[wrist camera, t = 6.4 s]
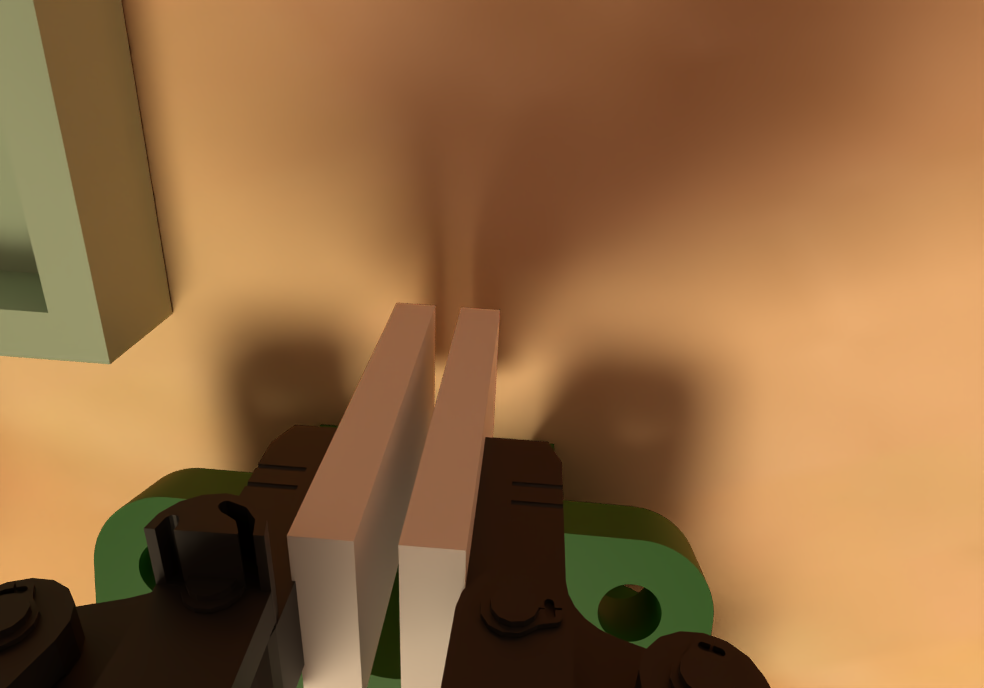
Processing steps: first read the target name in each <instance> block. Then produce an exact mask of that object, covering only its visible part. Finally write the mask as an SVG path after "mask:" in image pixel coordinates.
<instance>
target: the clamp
mask: <svg viewBox="0 0 984 688" xmlns="http://www.w3.org/2000/svg"><path fill="white" fill-rule="evenodd" d="M319 427H331V428H338V426H336V425H324V424H321V425H320V426H319ZM550 445H551V447H552V448H553V450H554V444H550ZM554 451H555V450H554ZM252 474H253V473H250V472H239V471H227V470H216V469H205V468H189V469H183V470H179V471H175V472H173V473H170V474H168V475H166V476H164V477H163V478H161V479H160V480H158V481H157V482H156V483H154V484H153V485H152V486H150V487H149V488H148V489H146V490H145V491H143V492H142V493H141V494H139V495H138V496H137V497H135V498H134V499H133V500H131V501H130V502H128V503H127V504H126V505H124V506H123V507H122V508H120V509H119V510H118V511H116V512H115V513H114V514H113V515H112V516H111V517H110V518H109V519H108V520H107V521H106V523H105V524H104V526H103V527H102V529H101V531H100V533H99V536H98V538H97V541H96V545H95V552H94V570H95V590H96V603H102V602H108V601H114V600H120V599H126V598H131V597H135V596H139V595H143V594H147V593H150V592H152V591H153V589H154V587H155V586H156V581H155V576H154V572H153V568H152V563H151V559H150V555H149V550H148V546H147V541H146V537H145V533H144V527H145V526H146V525H147V524H148V523H149V522H150V521H151V520H152V519H153V518H154V517H155V516H156V515H157V514H158V513H160V512H162V511H163V510H165V509H167V508H169V507H171V506H172V505H174V504H176V503H178V502H180V501H183V500H187V499H190V498H193V497H197V496H200V495H206V494H222V493H228V494H233V495H238V496H239V495H240V494H241V492H242V490H243V489H244V487H245V486H247V485H248V480H249V479H250V477H251V475H252ZM563 509H564V538H565V567H566V584H567V589H568V594H569V596H570V598H571V600H572V602H573V604H574V606H575V607H576V608H577V609H578V611H579V612H580V613H581V614H582V615H583V616H584V617H585V619H587V620H588V621H589V622H591V623H592V624H593V625H595V626H596V627H597V628H599V629H600V630H602V631H604V632H606V633H608V634H610V635H612V636H615V637H617V638H619V639H622V640H625V641H627V642H630V643H633V644H635V645H638V646H641V647H643V648H648V647H649V646H650V645H651V644H652V643H653V642H654V641H656V640H657V639H658V638H659V637H661V636H665V635H668V634H672V633H675V632H679V631H685V632H698V633H705V634H708V635H711V632H712V625H713V615H714V610H713V601H712V596H711V592H710V590H709V587H708V585H707V582H706V580H705V578H704V575H703V573H702V571H701V569H700V566H699V564H698V562H697V560H696V557H695V555H694V553H693V551H692V548H691V546H690V544H689V542H688V540H687V539H686V537H685V536H684V534H683V533H682V532H681V531H680V530H679V529H678V528H677V527H676V526H675V525H674V524H673V523H672V522H671V521H669V520H668V519H667V518H665V517H663V516H661V515H660V514H658V513H655V512H653V511H650V510H647V509H644V508H640V507H633V506H623V505H612V504H601V503H589V502H578V501H567V500H563ZM625 584H634V585H639V586H642V587H644V588H643V590H642V591H640V592H639V593H638V592H636V591H634V590H632V589H630V588H628V587H626V586H624V585H625ZM296 688H304V686H303V677H302V673H301V676H300V679H299V682H298V684H297V687H296ZM367 688H401V655H400V605H399V564H398V568H397V572H396V576H395V580H394V584H393V588H392V591H391V595H390V599H389V603H388V607H387V611H386V615H385V619H384V623H383V627H382V631H381V635H380V639H379V642H378V646H377V650H376V654H375V658H374V662H373V666H372V670H371V674H370V678H369V682H368V686H367Z"/></svg>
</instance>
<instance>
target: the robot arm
mask: <svg viewBox="0 0 984 688" xmlns="http://www.w3.org/2000/svg"><path fill="white" fill-rule="evenodd" d="M499 321H500V310H495V309H480V308H466V307H461V309H460V313H459V317H458V321H457V324H456V328H455V332H454V336H453V340H452V343H451V347H450V351H449V355H448V359H447V362H446V366H445V370H444V374H443V378H442V381H441V385H440V389H439V393H438V396H437V400H436V404H435V408H434V397H435V305H422V304H408V303H396V305H395V307H394V309H393V311H392V314H391V316H390V318H389V320H388V322H387V324H386V326H385V328H384V331H383V333H382V335H381V337H380V339H379V341H378V343H377V345H376V348H375V350H374V352H373V354H372V356H371V358H370V360H369V362H368V364H367V367H366V369H365V371H364V373H363V375H362V377H361V379H360V381H359V384H358V386H357V388H356V390H355V392H354V394H353V396H352V398H351V401H350V403H349V405H348V407H347V409H346V411H345V413H344V415H343V418H342V420H341V422H340V424H339V426H338V428H331V427H318V426H305V425H294V426H293V427H292V428H290V429H289V430H287V431H286V432H285V433H283V434H282V435H281V436H279V437H278V438H277V439H275V440H274V441H272V442H271V444H270V445H269V447H268V449H267V450H266V452H265V454H264V455H263V457H262V459H261V460H260V462H259V464H258V468H256V469H255V470H254V472H253V474H252V475H251V477H250V479H249V480H248V485H247V486H245V487H244V489H243V490H242V492H241V494H240V495H239V496H238V495H233V494H228V493H222V494H206V495H200V496H197V497H193V498H190V499H187V500H183V501H180V502H178V503H176V504H174V505H172V506H171V507H169V508H167V509H165V510H163V511H162V512H160V513H158V514H157V515H156V516H155V517H154V518H153V519H152V520H151V521H150V522H149V523H148V524H147V525H146V526H145V527H144V533H145V537H146V541H147V546H148V550H149V555H150V559H151V563H152V568H153V572H154V576H155V581H156V586H155V587H154V589H153V591H152V592H150V593H147V594H143V595H139V596H135V597H131V598H126V599H120V600H114V601H108V602H102V603H96V604H90V605H84V606H78V607H76V606H75V603H74V600H73V598H72V595H71V593H70V591H69V589H68V588H67V587H65V586H63V585H61V584H60V583H58V582H56V581H54V580H47V579H37V578H30V579H24V580H18V581H12V582H7V583H4V584H1V585H0V688H296V687H297V684H298V682H299V679H300V676H301V673H302V677H303V686H304V688H367V686H368V682H369V678H370V674H371V670H372V666H373V662H374V658H375V654H376V650H377V646H378V642H379V639H380V635H381V631H382V627H383V623H384V619H385V615H386V611H387V607H388V603H389V599H390V595H391V591H392V588H393V584H394V580H395V576H396V572H397V568H398V564H399V605H400V655H401V688H770V686H769V684H768V682H767V680H766V679H765V677H764V676H763V674H762V673H761V672H760V671H759V669H758V668H757V667H756V666H755V664H754V663H753V662H752V660H751V659H750V658H749V657H748V656H747V655H745V654H744V653H742V652H741V651H740V650H738V649H737V648H735V647H734V646H733V645H731V644H730V643H728V642H727V641H724V640H721V639H719V638H716V637H713V636H711V635H708V634H705V633H698V632H685V631H679V632H675V633H672V634H668V635H665V636H661V637H659V638H658V639H657V640H656V641H654V642H653V643H652V644H651V645H650V646H649V647H648V648H643V647H641V646H638V645H635V644H633V643H630V642H627V641H625V640H622V639H619V638H617V637H615V636H612V635H610V634H608V633H606V632H604V631H602V630H600V629H599V628H597V627H596V626H595V625H593V624H592V623H591V622H589V621H588V620H587V619H585V617H584V616H583V615H582V614H581V613H580V612H579V611H578V609H577V608H576V607H575V606H574V604H573V602H572V600H571V598H570V596H569V594H568V589H567V584H566V567H565V538H564V509H563V490H562V487H563V480H562V462H561V460H560V459H559V457H558V456H557V454H556V453H555V451H554V450H553V448H552V447H551V445H550V444H549V442H544V441H531V440H518V439H504V438H493V429H494V412H495V394H496V376H497V357H498V339H499Z"/></svg>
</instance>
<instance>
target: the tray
mask: <svg viewBox="0 0 984 688" xmlns="http://www.w3.org/2000/svg"><path fill="white" fill-rule="evenodd" d="M171 314H172V308H171V302H170V296H169V289H168V283H167V277H166V271H165V265H164V259H163V253H162V246H161V240H160V234H159V228H158V222H157V216H156V210H155V203H154V197H153V191H152V185H151V179H150V173H149V167H148V160H147V154H146V148H145V142H144V136H143V130H142V124H141V118H140V111H139V105H138V99H137V93H136V87H135V81H134V75H133V68H132V62H131V56H130V50H129V44H128V38H127V32H126V25H125V19H124V13H123V7H122V1H121V0H0V356H11V357H24V358H36V359H49V360H62V361H75V362H88V363H101V364H111V363H112V362H113V361H115V360H116V359H117V358H118V357H120V356H121V355H122V354H123V353H124V352H126V351H127V350H128V349H129V348H131V347H132V346H133V345H134V344H136V343H137V342H138V341H139V340H141V339H142V338H143V337H144V336H145V335H147V334H148V333H149V332H150V331H152V330H153V329H154V328H155V327H157V326H158V325H159V324H160V323H162V322H163V321H164V320H165V319H167V318H168V317H169V316H170V315H171Z"/></svg>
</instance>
